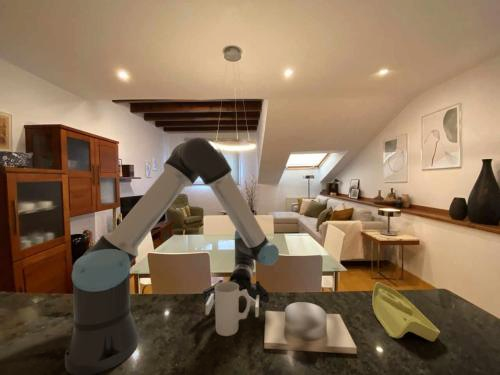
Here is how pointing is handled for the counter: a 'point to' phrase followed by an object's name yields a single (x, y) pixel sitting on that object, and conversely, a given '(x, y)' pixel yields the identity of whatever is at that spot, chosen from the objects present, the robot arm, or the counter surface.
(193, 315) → the counter surface
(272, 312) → the board with round cheese
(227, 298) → the mug
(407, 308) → the plastic component
